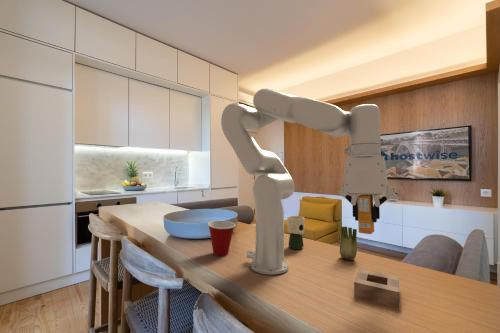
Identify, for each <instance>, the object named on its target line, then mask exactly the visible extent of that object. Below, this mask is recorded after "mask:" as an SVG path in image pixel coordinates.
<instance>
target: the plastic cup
mask: <svg viewBox="0 0 500 333" xmlns="http://www.w3.org/2000/svg"><path fill="white" fill-rule="evenodd" d="M207 226H208V228H209V233H210V243H211V247H212V254H213V255H214V256H216V257H225V256H228V255H229V253H230V246H231V241H232V236H233V231H234V228H235V227H236V223H235V222H232V221H227V220H212V221H209V222H207Z"/></svg>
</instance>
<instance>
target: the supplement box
mask: <svg viewBox="0 0 500 333" xmlns="http://www.w3.org/2000/svg"><path fill="white" fill-rule="evenodd" d="M357 200H358V221H357V222H358V225H357V226H358V233H360V234H365V235H372V234H373V233H374V232H375V222H373V206H374V198H373V195H364V194H359V195H358V196H357Z"/></svg>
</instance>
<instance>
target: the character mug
mask: <svg viewBox="0 0 500 333" xmlns="http://www.w3.org/2000/svg"><path fill="white" fill-rule="evenodd" d="M305 222H306V221H305V217H304V216H300V215H289V216H287V232H288V233H290V234H289V238H288V247H289V248H292V249H294V250H300V249H301V250H302V249H304V239H303V235H302V234H304V233H305Z"/></svg>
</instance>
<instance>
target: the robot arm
mask: <svg viewBox="0 0 500 333" xmlns="http://www.w3.org/2000/svg"><path fill="white" fill-rule="evenodd" d="M252 99H253V100H252V102H253V106H254V108H253V107H251V106H248V105H245V104H242V103H238V102H237V103H236V102H234V103H230V104H228V105H226V106H225V107H224V108H223V111H222V114H221V120H220V122H221V123H220V124H221V129H222V130H221V131H222V132H223V135H224V136H225V138H226V140H227V141H228V143H229V145H230V147H231V148H232V150H233V151H234V152H235V156H236V157H237V159H238V160H239V162H240V164H241V165H242V167H243V169H244V170H245V171H246V173H247V174H249V175H250V176H257V178H256V179H255V181H254V183H253V187H252V190H253V191H252V192H253V198H254V205H255V250H252V249H248V250H247V251H246V255H245V257H246V258H248V259H252V261H251V262H250V268H251V270H252V271H254V272H255V273H258V274H262V275H270V276H272V275H273V276H274V275H281V274H282V275H283V274H284V273H286V272H287V271H288V270H289V263H288V262H287V261H285V213H284V212H285V211H284V207H283V203H282V200H286V199H289V198H290V197H292V196H293V194H294V192H295V190H296V189H295V188H296V187H295V186H296V185H295V181H294V179H293V177H292V176H291V174H290V173H289V171H288V170H287V168H286V166H285V165H284V164H283V162H282V160H281V159H280V157H279V156H278V155H277V154H276V153H274V152H272V151H271V150H266V149H262V148H261V147H260V146H259V145H258V143H257V141H256V140H255V138H254V137H253V136H252V135H251V133H250V132H249V131H258V130H259V129H262V128H264V127H265V126H268V125H269V124H272V123H273V122H275V121H277V120H281V121H283V122H286V123H289V124H293V123H294V124H299V125H302V126H305V127H307V128H311V129H313V130H317V131H318V132H321V133H324V134H327V135H328V136H331V137H333V138H341V137H347V136H349V146H348V147H347V148H344V149H343V153H344V154H347V155H348V157H346V159H345V164H344V165H345V166H344V174H343V175H344V180H343V185H342V186H341V188H340V190H339V192H338V195H340V196H341V197H343V198H344V199H346V200H347V201H348V202H349V203H350V204H351V206H352V217H353V218H354V221H356V222H358V200H357V196H358V195H373V222H374V223H377V222H378V220H380V217H381V214H380V213H381V212H380V211H381V210H380V206H382V205H383V204H384V203H386V201H389V200H391V199H392V198H394V197H396V193H395V192H394V190H393V189H392V188H391V185H389V183H388V174H387V164H386V161H385V157H384V155H382V154H381V153H382V149H381V148H382V147H381V146H382V145H381V142H382V141H381V140H382V139H381V110H380V107H379V106H378V105H376V104H370V103H367V104H366V103H365V104H359V105H356V106H353V107H352V108H350V110H349V111H345V110H342V109H341V108H340V107H338V106H337V105H334V104H331V103H329V102H324V101H320V100H317V99H313V98H311V97H310V98H309V97H303V96H297V95H293V94H289V93H285V92H281V91H278V90H274V89H271V88H261V89H259V90H257V91H256V92H255V93H254V95H253V98H252ZM380 195H381V196H382V197H380Z"/></svg>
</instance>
